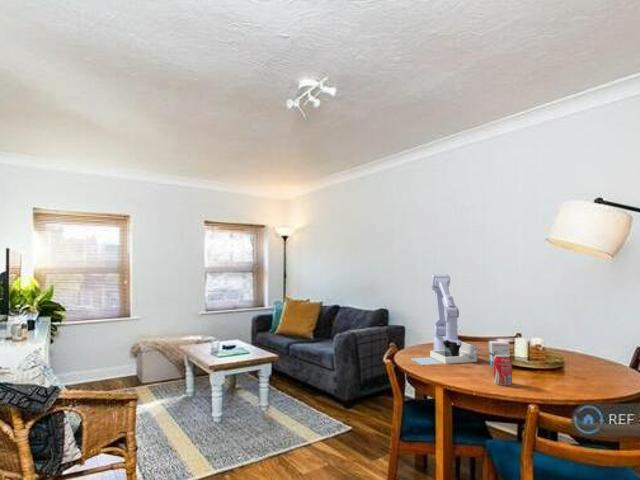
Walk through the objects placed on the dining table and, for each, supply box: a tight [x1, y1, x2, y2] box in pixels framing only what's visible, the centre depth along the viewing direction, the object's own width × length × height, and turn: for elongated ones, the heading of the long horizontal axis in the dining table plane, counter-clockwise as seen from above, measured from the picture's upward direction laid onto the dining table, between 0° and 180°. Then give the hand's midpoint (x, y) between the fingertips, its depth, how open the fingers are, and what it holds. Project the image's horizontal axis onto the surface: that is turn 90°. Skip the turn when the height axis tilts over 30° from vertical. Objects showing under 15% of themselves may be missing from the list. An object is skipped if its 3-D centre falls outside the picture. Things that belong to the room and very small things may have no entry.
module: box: [445, 347, 460, 357], centre depth 206 cm, size 4×6×6 cm
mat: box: [410, 356, 443, 367], centre depth 202 cm, size 13×11×1 cm
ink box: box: [488, 340, 511, 367], centre depth 194 cm, size 9×5×12 cm, turn 84°
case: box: [429, 341, 480, 365], centre depth 205 cm, size 17×18×8 cm
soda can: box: [492, 354, 513, 387], centre depth 166 cm, size 7×7×12 cm
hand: (452, 356), depth 206 cm, fingers closed on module, 4 cm apart
